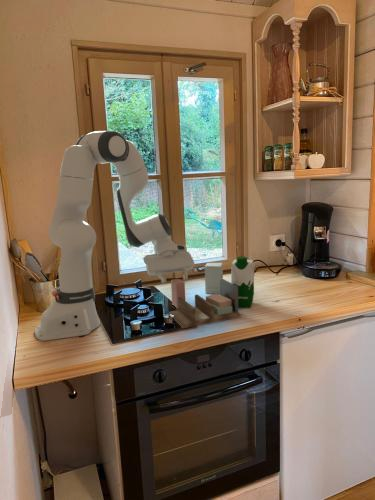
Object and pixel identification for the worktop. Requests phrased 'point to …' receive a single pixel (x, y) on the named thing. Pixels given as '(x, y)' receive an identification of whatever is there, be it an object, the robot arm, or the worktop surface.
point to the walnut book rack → (198, 313)
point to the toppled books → (220, 304)
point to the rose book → (177, 291)
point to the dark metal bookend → (230, 293)
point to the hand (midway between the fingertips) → (175, 280)
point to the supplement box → (213, 277)
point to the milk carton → (243, 280)
